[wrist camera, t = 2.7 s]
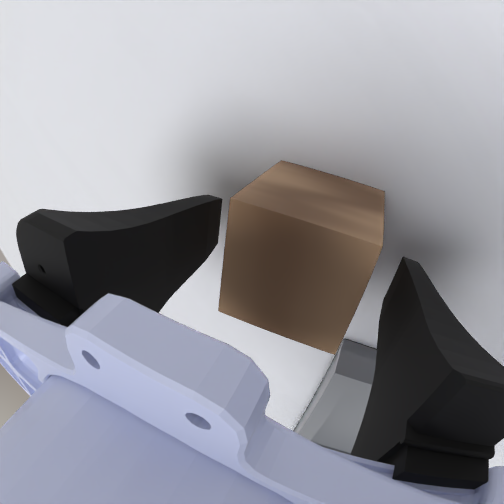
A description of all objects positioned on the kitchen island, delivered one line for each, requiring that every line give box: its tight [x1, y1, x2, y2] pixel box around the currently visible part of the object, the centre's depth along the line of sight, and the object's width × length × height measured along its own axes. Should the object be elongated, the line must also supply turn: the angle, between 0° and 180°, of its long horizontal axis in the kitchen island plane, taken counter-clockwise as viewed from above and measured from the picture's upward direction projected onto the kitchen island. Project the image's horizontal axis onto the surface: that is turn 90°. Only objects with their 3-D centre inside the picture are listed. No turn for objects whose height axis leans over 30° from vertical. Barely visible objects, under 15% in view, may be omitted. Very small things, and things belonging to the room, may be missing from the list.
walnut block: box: [218, 160, 385, 355], centre depth 12 cm, size 4×4×5 cm
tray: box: [294, 339, 377, 455], centre depth 17 cm, size 12×12×2 cm
